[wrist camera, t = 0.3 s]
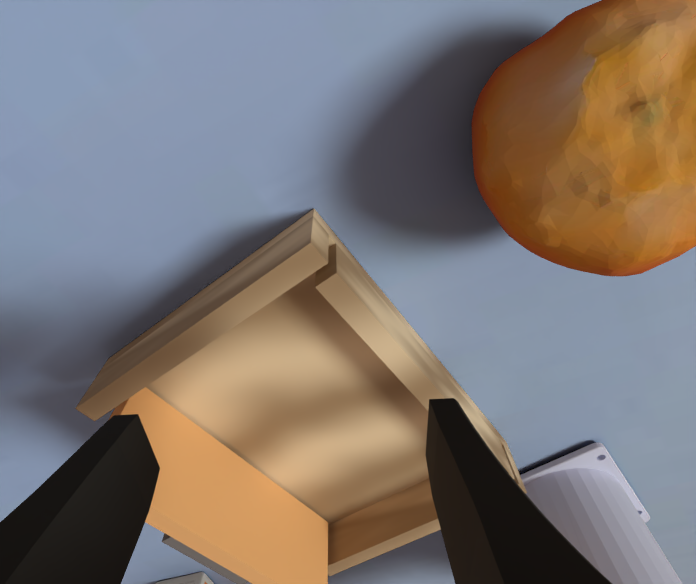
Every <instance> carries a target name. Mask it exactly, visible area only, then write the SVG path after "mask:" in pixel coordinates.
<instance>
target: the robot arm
mask: <svg viewBox="0 0 696 584" xmlns="http://www.w3.org/2000/svg"><path fill="white" fill-rule="evenodd" d="M425 455H426V461H427V468H428V474H429V481H430V487H431V493H432V498H433V501H434V505H435V509H436V513H437V517H438V520H439V524H440V528H441V532H442V535H443V539H444V543H445V546H446V550H447V554H448V558H449V561H450V565H451V569H452V572H453V576H454V580H455V584H682V582H681V580H680V579H679V577H678V576H677V574H676V572H675V571H674V569H673V568H672V566H671V564H670V563H669V561H668V559H667V558H666V556H665V555H664V553H663V551H662V550H661V548H660V547H659V545H658V543H657V542H656V540H655V539H654V537H653V535H652V534H651V532H650V531H649V529H648V527H647V526H646V524H645V523H646V522H647V521H649V519H650V516H649V515H648V513H647V511H646V510H645V508H644V507H643V505H642V504H641V502H640V501H639V499H638V498H637V496H636V494H635V493H634V491H633V490H632V488H631V487H630V485H629V484H628V482H627V481H626V479H625V477H624V476H623V474H622V473H621V471H620V470H619V468H618V467H617V465H616V464H615V462H614V460H613V459H612V457H611V456H610V454H609V453H608V451H607V450H606V448H605V447H604V445H603V444H602V443H593V444H590V445H588V446H586V447H583V448H581V449H579V450H576V451H574V452H572V453H570V454H567V455H565V456H563V457H560V458H558V459H556V460H554V461H551V462H549V463H547V464H544V465H542V466H540V467H537V468H535V469H533V470H531V471H528V472H526V473H524V474H521V475H520V477H521V479H522V482H523V484H524V486H525V489H526V491H527V493H526V494H525V493H524V491H523V490H522V489H521V488H520V487H519V485H518V484H517V483H516V482H515V481H514V479H513V478H512V477H511V476H510V474H509V473H508V472H507V470H506V469H505V468H504V467H503V465H502V464H501V463H500V461H499V460H498V459H497V458H496V456H495V455H494V454H493V452H492V451H491V450H490V448H489V447H488V446H487V444H486V443H485V441H484V440H483V439H482V437H481V436H480V434H479V433H478V432H477V430H476V429H475V427H474V426H473V424H472V423H471V421H470V420H469V418H468V417H467V415H466V414H465V412H464V410H463V409H462V407H461V406H460V404H459V402H458V401H457V400H456V399H454V398H444V399H429V409H428V424H427V439H426V454H425ZM159 471H160V467H159V464H158V462H157V459H156V457H155V454H154V452H153V449H152V447H151V444H150V442H149V439H148V437H147V435H146V432H145V430H144V427H143V425H142V422H141V420H140V417H139V415H138V414H130V415H114V416H113V417H111V418H110V419H109V420H108V421H107V422H106V423H105V424H104V425H103V426H102V427H101V428H100V429H99V430H98V431H97V432H96V433H95V434H94V435H93V436H92V437H91V438H90V439H89V440H88V441H86V442H85V443H84V444H83V445H82V446H81V447H80V448H79V449H78V450H77V451H76V452H75V453H74V454H73V455H72V456H71V457H70V458H69V459H68V460H67V461H66V462H65V463H64V464H63V465H62V466H61V467H60V468H59V469H58V470H57V471H56V472H55V473H54V474H53V475H51V476H50V477H49V478H48V479H47V480H46V481H45V482H44V483H43V484H42V485H41V486H40V487H39V488H38V489H37V490H36V491H35V492H34V493H33V494H31V495H30V496H29V497H28V498H27V499H26V500H25V501H24V502H22V503H21V504H20V505H19V506H18V507H17V508H16V509H15V510H14V511H12V512H11V513H10V514H9V515H8V516H7V517H6V518H5V519H4V520H2V521H1V522H0V584H121V581H122V579H123V576H124V574H125V571H126V569H127V566H128V564H129V561H130V559H131V556H132V554H133V551H134V549H135V546H136V543H137V541H138V538H139V536H140V533H141V531H142V528H143V525H144V523H145V520H146V518H147V515H148V512H149V509H150V506H151V502H152V499H153V495H154V491H155V487H156V483H157V479H158V475H159Z"/></svg>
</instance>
